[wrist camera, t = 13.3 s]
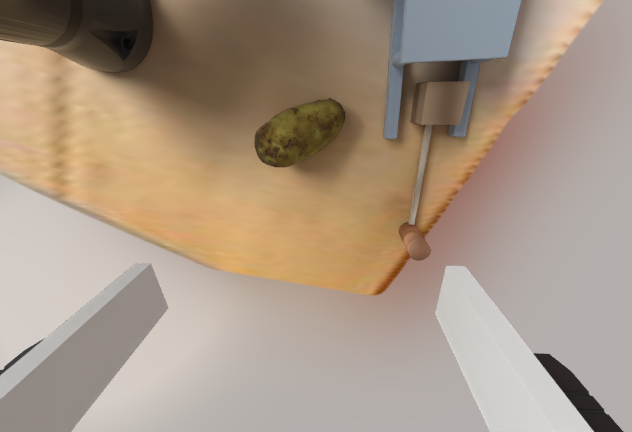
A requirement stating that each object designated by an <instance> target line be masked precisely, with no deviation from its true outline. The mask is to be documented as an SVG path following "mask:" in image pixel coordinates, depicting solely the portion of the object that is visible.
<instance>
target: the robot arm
mask: <svg viewBox="0 0 632 432" xmlns="http://www.w3.org/2000/svg"><path fill="white" fill-rule="evenodd" d="M152 30H153V23H152V13H151V8H150V4H149V0H0V40H4V41H10V42H17V43H23V44H30V45H36V46H41V47H46V48H48V49H50V50H52V51H54V52H56V53H58V54H60V55H62V56H64V57H66V58H68V59H70V60H72V61H74V62H76V63H78V64H80V65H82V66H85V67H88V68H91V69H94V70H99V71H107V72H123V71H127V70H130V69H132V68H134V67H135V66H137V65H138V64H139V63H140V62H141V61H142V60H143V58H144V57H145V55H146V54H147V52H148V49H149V47H150V43H151V39H152ZM167 309H168V306H167V303H166V301H165V298H164V296H163V293H162V291H161V288H160V285H159V283H158V280H157V278H156V276H155V273H154V270H153V268H152V265H151V264H150V263H149V264H145V263H143V264H142V263H140V264H139V263H136V264H134V265H133V266H131V267H130V268H129V269H128V270H127V271H125V272H124V273H123V274H122V275H121V276H120V277H118V278H117V279H116V280H115V281H114V282H112V283H111V284H110V285H109V286H107V287H106V288H105V289H104V290H103V291H101V292H100V293H99V294H98V295H97V296H95V297H94V298H93V299H92V300H91V301H89V302H88V303H87V304H86V305H85V306H84V307H82V308H81V309H80V310H79V311H77V312H76V313H75V314H74V315H73V316H71V317H70V318H69V319H68V320H66V322H64V323H63V324H62V325H61V326H59V327H58V328H57V329H56V330H54V331H53V332H52V333H51V334H50V335H48V337H46V338H45V339H43V340H41V341H39V342H38V343H36V344H34V345H33V346H31V347H29V348H28V349H26V350H25V351H23V352H22V353H21V354H19V355H18V356H17V357H16V358H15V359H13V360H12V361H11V362H10V363H8V364H7V365H6V366H5V368H4V369H3V370H0V432H71V431H72V430H73V428H74V427H75V426H76V424H77V423H78V422H79V421H80V419H81V418H82V417H83V416H84V414H85V413H86V412H87V410H88V409H89V408H90V407H91V405H92V404H93V403H94V402H95V400H96V399H97V398H98V397H99V395H100V394H101V393H102V392H103V390H104V389H105V388H106V386H107V385H108V384H109V383H110V381H111V380H112V379H113V378H114V376H115V375H116V374H117V372H118V371H119V370H120V368H121V367H122V366H123V365H124V364H125V362H126V361H127V360H128V359H129V357H130V356H131V355H132V353H133V352H134V351H135V350H136V348H137V347H138V346H139V345H140V343H141V342H142V341H143V340H144V338H145V337H146V336H147V334H148V333H149V332H150V331H151V329H152V328H153V327H154V326H155V324H156V323H157V322H158V321H159V319H160V318H161V317H162V315H163V314H164V313H165V312H166V310H167ZM435 315H436V317H437V319H438V321H439V323H440V325H441V327H442V330H443V332H444V334H445V336H446V338H447V340H448V343H449V345H450V347H451V349H452V351H453V353H454V355H455V358H456V360H457V362H458V364H459V366H460V368H461V370H462V373H463V374H464V377H465V379H466V381H467V383H468V385H469V387H470V390H471V392H472V394H473V396H474V398H475V400H476V403H477V405H478V407H479V409H480V411H481V413H482V415H483V418H484V420H485V422H486V424H487V426H488V428H489V430H490V432H623V431H622V430H621V429H620V427H619V426H618V425H617V424H616V423H615V422H614V420H613V419H612V418H611V417H610V416H609V415H607V414H606V413H605V412H604V409H603V408H602V407H601V406H600V404H599V403H598V402H597V401H596V400H595V399H594V397H593V396H590V395H589V392H588V390H587V389H586V388H585V387H584V386H583V385H582V384H581V382H580V381H579V380H578V379H577V378H576V377H575V375H574V374H573V373H572V372H571V371H570V370H569V369H567V368H566V367H565V366H564V365H562V364H561V363H560V362H559V361H557V360H556V359H555V358H553V357H552V356H551V355H550V354H533V353H532V351H531V350H530V349H529V348H528V346H527V345H526V344H525V343H524V341H523V340H522V339H521V337H520V336H519V335H518V333H517V332H516V331H515V330H514V328H513V327H512V326H511V324H510V323H509V322H508V321H507V319H506V318H505V317H504V315H503V314H502V313H501V312H500V310H499V309H498V308H497V307H496V305H495V304H494V303H493V301H492V300H491V299H490V297H489V296H488V295H487V294H486V292H485V291H484V290H483V288H482V287H481V286H480V285H479V284H478V282H477V281H476V279H475V278H474V277H473V276H472V274H471V273H470V272H469V271H468V269H467V268H466V267H465V266H446V269H445V273H444V277H443V282H442V286H441V290H440V295H439V299H438V304H437V308H436V312H435Z"/></svg>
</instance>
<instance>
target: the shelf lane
mask: <svg viewBox="0 0 632 432" xmlns="http://www.w3.org/2000/svg"><path fill="white" fill-rule="evenodd" d="M520 4H521V0H393V12H392V26H391V39H390V53H389V66H388V80H387V93H386V107H385V120H384V134H383V137H384V138H385V139H397V131H398V121H399V111H400V100H401V90H402V80H403V69H404V65H405V64H408V63H425V62H444V61H461V64H460V70H459V75H458V81H457V82H460V81H470V84H469V89H468V93H467V97H466V101H465V106H464V110H463V114H462V119H461V123H460V125H449V131H448V135H450V136H453V137H462V136H465V134H466V129H467V125H468V120H469V115H470V110H471V106H472V101H473V96H474V91H475V86H476V82H477V77H478V72H479V67H480V63H481V62H484V61H488V60H492V59H500V58H506V57H507V56H508V52H509V48H510V44H511V40H512V36H513V32H514V28H515V24H516V20H517V16H518V12H519V8H520Z"/></svg>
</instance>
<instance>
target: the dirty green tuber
mask: <svg viewBox="0 0 632 432" xmlns="http://www.w3.org/2000/svg"><path fill="white" fill-rule="evenodd" d="M344 119H345V112H344V110H343V107H342V105H341V104H340V103H338V102H336V101H335V100H333V99H331V98H329V99H327V100H318V101H315V102H312V103H308V104H303V105H300V106H296V107H293V108H290V109H287V110H285V111H282V112H281V113H279V114H277V115H276V116H275V117H274V118H272V119H271V120H270V121H269V122H267V123H266V124H264V125H263V126H262V127H260V128H259V130H258V131H257V132H256V135H255V149H256V152H257V155H258V157H259V159H260V160H261V161H262V162H263V163H265V164H267V165H270V166H274V167H289V166H291V165H294V164H296V163H298V162H300V161H303V160H305V159H307V158H308V157H310V156H311V155H313V154H315V153H317V152H318V151H320V150H321V149H323V148H324V147H325V146H327V145H328V144H329V143H330V142H331V141H332V140H333V139H334V138H335V137H336V135H337V134H338V132H339V130H340V129H341V127H342V125H343V123H344Z"/></svg>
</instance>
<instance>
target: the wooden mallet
mask: <svg viewBox="0 0 632 432" xmlns="http://www.w3.org/2000/svg"><path fill="white" fill-rule="evenodd" d="M469 84H470V81H460V82H424V83H418V84H416V87H415V94H414V100H413V107H412V114H411V120H410V122H413V123H416V124H420V125H425V130H424V136H423V142H422V147H421V153H420V159H419V164H418V170H417V176H416V181H415V187H414V193H413V198H412V204H411V210H410V215H409V221H408V223H404V224H403V225H402V226H401V227H400V228H399V234H400V236H401V238H402V240H403V242H404V244H405V246H406V249H407V251H408V253H409V255H410V257H411V258H412V259H414V260H423V259H425V258H427V257H428V256H429V255H430V252H431V250H430V247H429V245H428V244H427V242H426V241H425V239H424V238H423V236H422V234H421V233H420V231H419V230H418V228H417V227H416V225H415V224H414V223H415V218H416V212H417V207H418V202H419V197H420V191H421V186H422V181H423V176H424V170H425V165H426V160H427V154H428V149H429V144H430V139H431V133H432V128H433V125H460V123H461V119H462V114H463V110H464V106H465V101H466V97H467V93H468V89H469Z"/></svg>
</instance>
